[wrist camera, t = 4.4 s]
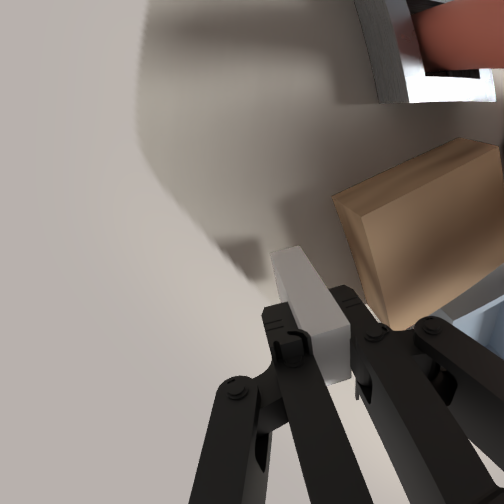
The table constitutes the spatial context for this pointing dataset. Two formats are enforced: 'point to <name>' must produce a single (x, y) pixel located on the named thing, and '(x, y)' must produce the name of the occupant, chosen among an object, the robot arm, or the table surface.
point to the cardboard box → (426, 229)
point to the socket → (412, 58)
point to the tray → (480, 312)
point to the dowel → (461, 35)
